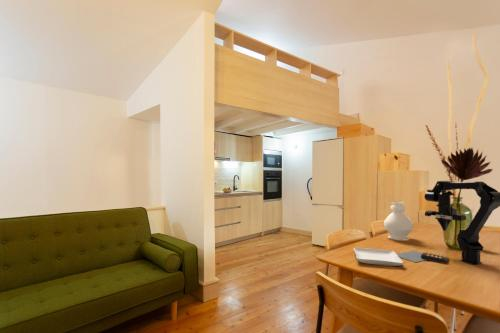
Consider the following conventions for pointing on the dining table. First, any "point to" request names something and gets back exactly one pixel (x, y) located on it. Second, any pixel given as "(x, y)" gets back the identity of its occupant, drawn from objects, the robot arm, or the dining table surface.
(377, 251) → the salad plate
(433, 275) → the dining table surface
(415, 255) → the mat
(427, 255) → the ammunition clip
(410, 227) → the decorative vase
